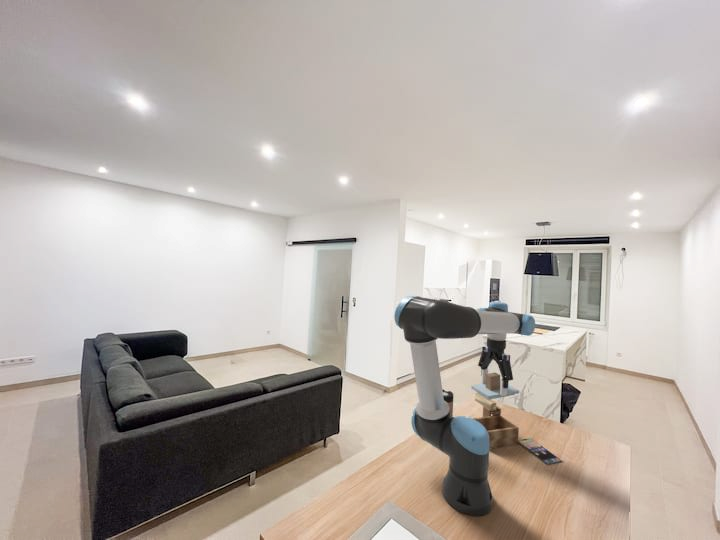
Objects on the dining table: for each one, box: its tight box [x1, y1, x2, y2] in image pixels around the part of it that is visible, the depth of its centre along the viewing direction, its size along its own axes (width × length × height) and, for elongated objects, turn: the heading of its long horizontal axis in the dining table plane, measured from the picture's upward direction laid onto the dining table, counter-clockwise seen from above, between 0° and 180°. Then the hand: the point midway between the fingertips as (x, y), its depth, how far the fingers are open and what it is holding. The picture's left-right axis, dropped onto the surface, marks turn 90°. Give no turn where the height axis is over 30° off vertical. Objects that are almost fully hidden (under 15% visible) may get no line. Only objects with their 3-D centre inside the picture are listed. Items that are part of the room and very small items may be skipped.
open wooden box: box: [471, 405, 520, 450], centre depth 132 cm, size 17×15×10 cm
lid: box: [471, 372, 520, 400], centre depth 129 cm, size 16×11×8 cm
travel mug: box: [442, 388, 454, 417], centre depth 128 cm, size 8×8×20 cm
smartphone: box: [517, 437, 564, 466], centre depth 122 cm, size 8×15×1 cm, turn 17°
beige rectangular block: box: [474, 392, 497, 411], centre depth 143 cm, size 3×11×3 cm, turn 17°
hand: (493, 389), depth 129 cm, fingers closed on lid, 11 cm apart
